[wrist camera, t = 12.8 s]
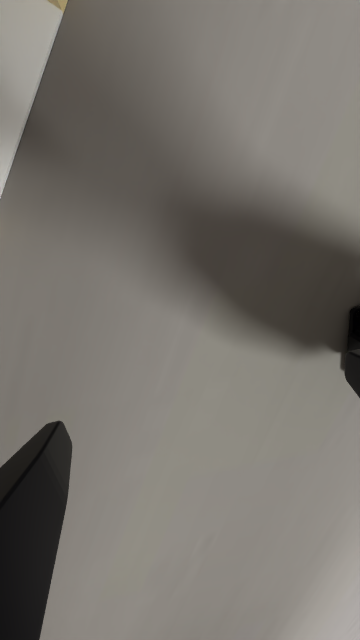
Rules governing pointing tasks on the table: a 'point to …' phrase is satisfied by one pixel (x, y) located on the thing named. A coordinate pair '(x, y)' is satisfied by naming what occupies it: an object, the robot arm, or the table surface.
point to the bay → (22, 66)
